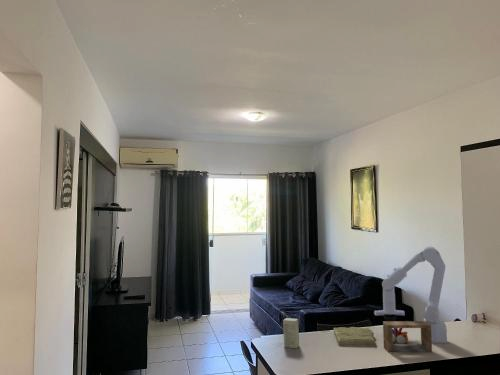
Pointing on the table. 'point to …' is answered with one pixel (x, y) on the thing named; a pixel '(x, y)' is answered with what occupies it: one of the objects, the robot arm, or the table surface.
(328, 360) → the table surface
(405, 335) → the multicoloured spiky piece
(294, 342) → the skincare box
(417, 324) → the walnut shelf
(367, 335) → the folded green towel
